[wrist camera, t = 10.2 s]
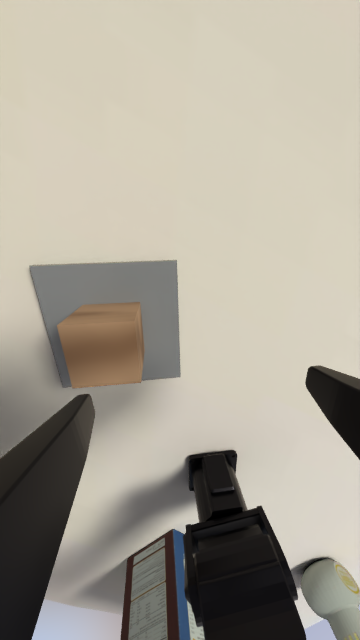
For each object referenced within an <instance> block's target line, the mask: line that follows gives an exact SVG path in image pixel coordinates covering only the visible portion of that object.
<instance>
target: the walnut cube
mask: <svg viewBox="0 0 360 640" xmlns="http://www.w3.org/2000/svg"><path fill="white" fill-rule="evenodd" d="M57 328H58V332H59V336H60V340H61V344H62V348H63V352H64V356H65V360H66V364H67V368H68V372H69V376H70V380H71V384H72V388H82V387H94V386H106V385H117V384H129V383H141V379H142V370H143V361H144V352H145V349H144V338H143V327H142V317H141V306H140V302H129V303H108V304H88V305H82V306H81V307H79V308H78V309H77V310H76V311H74V312H73V313H72V314H71V315H69V316H68V317H67V318H66V319H64V320H63V321H62V322H61V323H59V324H58V325H57Z"/></svg>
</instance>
